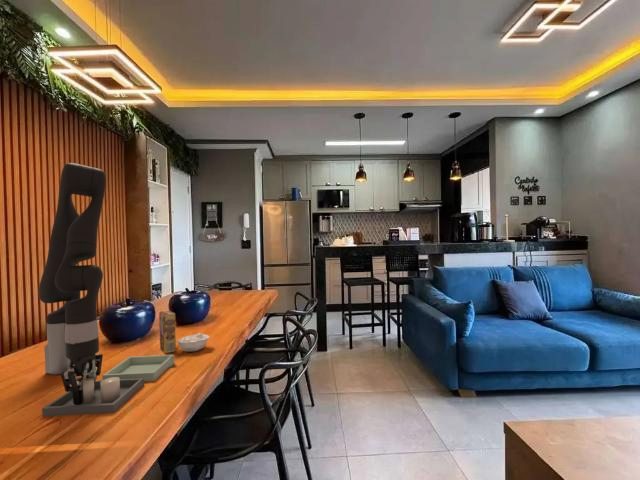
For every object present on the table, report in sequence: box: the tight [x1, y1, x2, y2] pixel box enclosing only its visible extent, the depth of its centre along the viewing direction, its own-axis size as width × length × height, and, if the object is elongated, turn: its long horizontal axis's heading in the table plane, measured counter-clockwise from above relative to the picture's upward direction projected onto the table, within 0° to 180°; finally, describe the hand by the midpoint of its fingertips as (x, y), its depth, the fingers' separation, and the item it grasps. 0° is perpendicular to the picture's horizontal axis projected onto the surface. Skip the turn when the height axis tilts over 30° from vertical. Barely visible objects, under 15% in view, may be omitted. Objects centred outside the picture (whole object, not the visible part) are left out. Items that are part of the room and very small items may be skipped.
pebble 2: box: [100, 377, 120, 403], centre depth 91 cm, size 4×4×5 cm
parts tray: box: [41, 378, 145, 417], centre depth 91 cm, size 18×16×3 cm
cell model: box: [177, 332, 210, 353], centre depth 131 cm, size 10×12×7 cm
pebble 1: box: [76, 378, 95, 404], centre depth 91 cm, size 4×4×5 cm
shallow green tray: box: [101, 354, 175, 383], centre depth 109 cm, size 16×16×4 cm
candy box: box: [158, 310, 177, 354], centre depth 133 cm, size 9×4×15 cm, turn 39°
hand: (84, 398), depth 91 cm, fingers closed on pebble 1, 4 cm apart
